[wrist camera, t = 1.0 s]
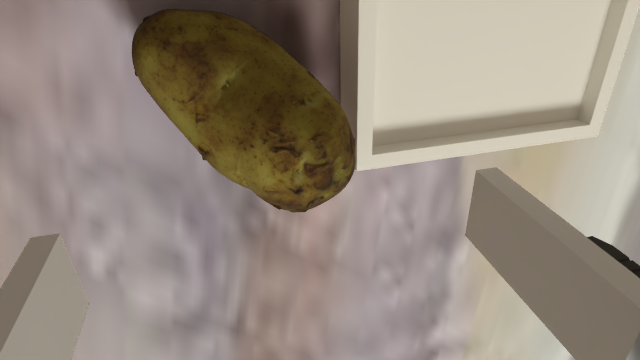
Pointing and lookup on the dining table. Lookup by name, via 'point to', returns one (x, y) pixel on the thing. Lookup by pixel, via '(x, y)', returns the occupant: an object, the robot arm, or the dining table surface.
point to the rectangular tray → (476, 74)
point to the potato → (246, 106)
